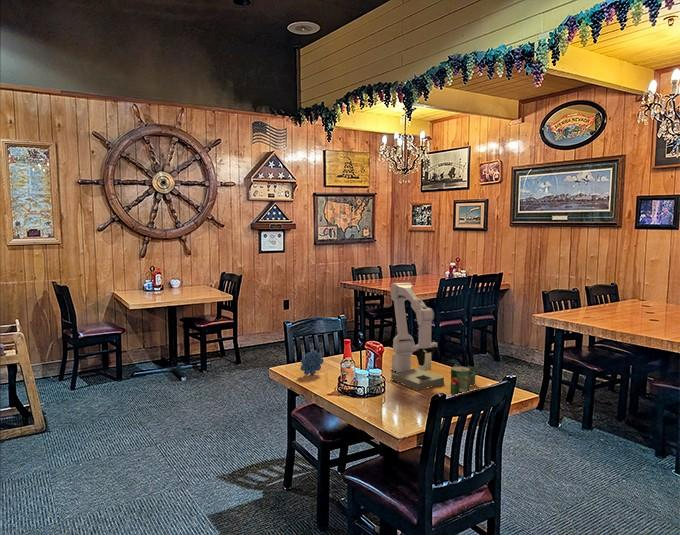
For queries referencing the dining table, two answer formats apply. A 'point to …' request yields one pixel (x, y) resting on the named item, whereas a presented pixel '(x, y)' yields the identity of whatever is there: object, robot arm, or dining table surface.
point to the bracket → (472, 375)
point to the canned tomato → (459, 379)
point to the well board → (417, 378)
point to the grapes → (311, 362)
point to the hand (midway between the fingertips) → (424, 364)
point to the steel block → (426, 362)
